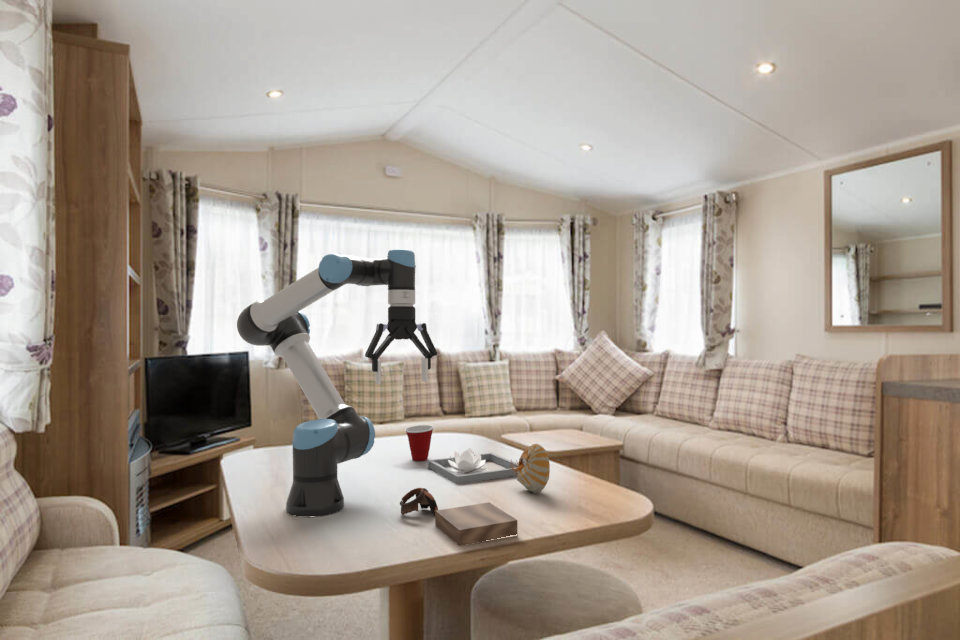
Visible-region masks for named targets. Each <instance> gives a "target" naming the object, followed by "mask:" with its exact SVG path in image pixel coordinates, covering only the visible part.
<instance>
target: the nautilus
mask: <svg viewBox="0 0 960 640" xmlns="http://www.w3.org/2000/svg"><path fill="white" fill-rule="evenodd" d="M510 461H511V464H512V462H513V461H512V458H511V459H510ZM515 461H516V462H515ZM515 461H514V462H515V463H517V464H518V467H517V468H516V469H513V465H514V464H513V465H512V467H511V468H512V469H513V470H514V471H516V472H517V473H515V474H517V476H516V481H517V482H519V484H521V485H522V486H523V487H524V488H525V489H526V490H528V491H529V492H531V491H532V493H534V492H536V493H535V494H538V493H541V492H542V491H543V490H544V489H545V488H546V485H548V481H549V479H550V471H551V469H550V466H551V465H550V458H549V453H548V452H547V451H546V449H545V448H544V447H543V446H542V445H541V444H539V443H533V444H531V445H530V446H528V447H527V448H525V450H523V451H522V453H521V455H520V457H519V459H518V460H517V459H515ZM510 466H511V465H510ZM514 466H515V465H514ZM516 466H517V465H516ZM516 466H515V467H516Z"/></svg>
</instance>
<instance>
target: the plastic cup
mask: <svg viewBox="0 0 960 640" xmlns="http://www.w3.org/2000/svg"><path fill="white" fill-rule="evenodd" d="M434 428H435V427H434V425H429V424H422V425H412V426H409V427H405V428H404V431H405V433H406V436H407V439H408V444H409V449H410V455H411V460H412V461H415V462H423V461H427V460H428V459H429V453H430V448H431V441H432V436H433V430H434Z"/></svg>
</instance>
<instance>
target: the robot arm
mask: <svg viewBox="0 0 960 640" xmlns="http://www.w3.org/2000/svg"><path fill="white" fill-rule="evenodd" d="M415 257H416V255H415V252H414V251H413V250H410V249H405V248H403V249H401V248H399V249H398V248H396V249H390V250H388V252H387V257H383V258H369V257H368V258H367V257H361V256H355V255H348V254H344V253H327V254H326V255H324V256H322V258H321V261H319V264H318V267H316V268H315V269H314V270H312V271H310V272H309V273H307V274H306V275H304V276H302V277H301V278H299V279H297V280H296V281H294V282H292V283H290V284H289V285H288V286H286V287H284V288H282V289H281V290H279V291H277V292H276V293H275V294H273V295H271V296H269V297H268V298H267V299H265V300H256V301H255V302H253V303H252V304H250V305H248V306H246V307H245V308H244V309H243V310H242V311H241V312H240V313H239V315H238V318H237V320H236V329H237V332H238V334H239V336H240V337H241V339H242V340H243V341H244V342H246V343H247V344H250V345H252V346H258V347H259V346H265V347H266V346H270V347H271V350H272V351H273V353H274V355H275V356H276V357H279V358H283V360H284V362H285V364H286V365H287V367H288V369H289V370H290V371H291V373H292V375H293V377H294V379H295V380H296V382H297V384H298V385H299V386H300V388H301V390H302V392H303V395H305V397H306V399H307V400H308V402H309V405H310V406H311V408H312V409H313V411H314V413H315V414H316V416H317V419H315V420H314V419H313V420H306V421H304V422H301V423H300V424H298V425H296V427H295V428H294V430H293V434H292V441H291V445H292V484H291V488H290V490H289V494H288V497H287V499H286V503H285V507H286V508H285V512H286V511H287V512H286V513H287V514H288V513H289V514H288V515H290V514H291V515H290V516H293V515H296V516H295V517H298V516H320V517H325V515H326V516H329V514H330V515H333V514H336V513H339V512H341V511H342V510H343V509H344V507H345V498H344V495H343V492H342V489H341V488H342V487H341V486H340V482H339V480H338V464H341V463H344V462H348V461H351V460H355V459H359V458H361V457H362V456H364V455H366V454H368V453H369V452H370V451H371V450H372V449H373V447H374V444H375V438H376V430H375V426H374V424H373V422H372V421H371V419H369V418H368V417H367V416H364V415H359V414H358V413H357V410H356V409H355V408H354V407H353V406H352V405H347V404H346V403H345V401H344V400H343V398H342V397H341V395H340V393H339V391H338V389H336V386H335V385H334V384H333V382H332V380H331V379H330V377H329V375H328V373H327V372H326V370H325V368H324V367H323V365H322V364H321V362H320V361H319V358H318V357H317V355H316V354H315V351H313V349H312V347H311V345H310V340H311V336H310V332H311V329H310V326H311V324H310V321H309V318H308V317H307V315H306V314H305V313H304V312H303V311H302V310H304V309H306V308H307V307H309V306H310V305H312V304H313V303H316V302H317V301H319V300H320V299H322V298H324V297H326V296H327V295H329V294H331V293H332V292H334V291H336V290H337V289H340V288H341V287H343V286H345V285H347V284H348V285H350V284H351V285H356V286H362V287H370V286H387V305H389V306H388V308H387V324H386V323H382V322H381V323H380V322H379V323H377V324H376V328H375V333H374V335H373V336H372V339H371V341H370V343H369V345H368V347H367V349H366V351H365V354H364V357H365V358H369V359H371V370H372V372H373V373H375V374H374V375H375V376H374V377H375V382H374V383H375V385H381V384H382V360H381V359H379V358H380V357H381V355H383V353H384V352H385V351H386V350H387V348H388V347H389V346H390V344H391V343H392V342H393V341H394V340H410V341H411V342H412V343H413V344H414V346H415V347H416V348H417V350H418V351H419V352H421V355H423V357H422V358H421V381H422V382H425V383H428V382H429V370H431V368H432V366H431V365H432V360H431V359H432V358H433V357H435V356H438V352H437V349H436V347H435V345H434V343H433V341H432V339H431V336H430V334H429V332H428V328H427V324H426V323H425V322H421V323H416V307H415V306H414V305H415V304H416V267H417V266H416V258H415ZM386 330H387V331H388V334H387V335H386V337H385V339H384V340H383V341H382V343H381V344H380V345H379V346H378V344H379V342H380V339H381V338H382V336H383V333H384V332H385V331H386ZM416 330H417V331H418V332H420V335H421V338H422V339H423V342H424V343H425V346H426V347H425V346H424V344H423V343H422V342H421V340H420V339H419V338H418V336H417V335H416V333H415V332H416ZM377 346H378V348H377ZM376 348H377V349H376Z"/></svg>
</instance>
